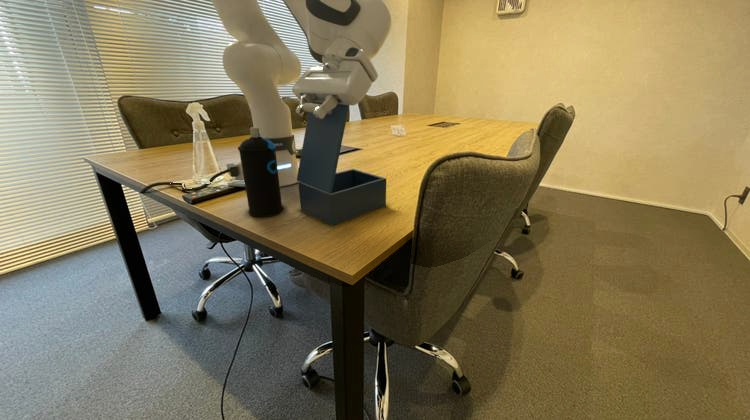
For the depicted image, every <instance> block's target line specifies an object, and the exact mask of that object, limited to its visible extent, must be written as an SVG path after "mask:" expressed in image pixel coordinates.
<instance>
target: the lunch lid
mask: <svg viewBox="0 0 750 420" xmlns="http://www.w3.org/2000/svg"><path fill="white" fill-rule="evenodd" d="M321 104H322V103H318V102H312V103H304V104H303V110H304V111H305V112H308V113H307V120H306V124H305V125H306V127H305V131H304V138H303V142H302V148H301V153H300V159H299V165H298V168H299V170H298V175H297V181H299V182H302V183H305V184H307V185H310V186H312V187H315V188H317V189H320V190H322V191H325V192H327V193H332V189H333V184H334V179H335V174H336V173H337V170H338V169H337V168H338V165H339V158H340V155H341V150H342V149H341V148H342V144H343V138H344V134H345V129H346V124H347V119H348V114H349V109H350V105H342V104H337V105H336V107H335V108H334V109H332V110H331V111H329V112H328V113H327V114H326V115H325V116H324V118H323V119H319V118H316V116H315V115H314V114H313V112H314V110H315V109H316V107H317V106H320V105H321Z"/></svg>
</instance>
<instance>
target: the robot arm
mask: <svg viewBox="0 0 750 420" xmlns="http://www.w3.org/2000/svg"><path fill="white" fill-rule="evenodd" d="M210 2H211V4H212V5H213V7H214V9H215V12H216V13H217V16H218V17H219V19H220V21H221V23H222V25H223V27H224V29H225V30H226V32H227V33H228V34H229V35H230V36H231V37H233V38H234V39H235V40H237V41H235V42H231V43H229V44H227V46H225V48H224V50H223V53H222V59H221V60H222V66H223V69H224V72H225V74H226V75H227V77H228V78H229V79H230V80H231V81H232V82H233V83H234V84H235V85H236V86H237V87H238V88H239V89H240V91H241V93H242V94H243V96H244V98H245V100H246V102H247V106H248V108H249V110H250V115H251V120H252V127H259V133H260V137H262V138H265V139H268V140H270V141H271V142H272V143H273V144H274V145H276V148H275V151H276V160H277V168H278V176H279V184H280V187H286V186H290V185H294V184H298V182H300V181H297V175H298V170H299V165H298V161H297V156H296V153H297V152H296V151H297V146H296V139H295V135H294V133H293V123H292V115H291V108H290V107H289V105H288V104H286V102H285V101H284V100H283V99H282V96H281V94H280V92H279V89H278V87H281V88H282V87H286V86H290V85H292V84H293V83H294V84H293V86H292V88H291V92H292V93H293V95H294V96H295V97H296V98H297V99H298V100H299V104H298V106H297V107H296V108H295V112H296V114H297V115H298V116H300V117H306V116H307V115H308V113H309V112H305V111H304V110H303V104H304V103H312V102H318V103H322V104H321V105H320V106H317V107H316V109H315V110H314V112H313V114H314V115H315V116H316V118H319V119H323V118H324V116H325V115H326V114H327V113H328V112H329V111H331V110H332V109H334V108H335V107H336V105H337V104H342V105H349V106H356V105H357V104H360V102H361V101H362V100H364V97H366V95H367V93H368V92H369V91H370V88H371V87H372V84H373V83H374V82H375V81H376V80H377V79H378V77H379V74H378V71H377V70H376V68H375V66H374V64H373V62H372V61H371V60H372V59H373V58H374V57H376V56H377V55H378V53H379V52H380V51H381V49H382V47H383V46H384V44H385V42H386V40H387V39H388V37H389V34H390V32H391V30H392V29H391V28H392V17H391V12H390V11H389V8H388V6H387V5H386V4H385V2H384V1H383V0H282V2H283V3H284V5H285V6H286V8H287V9H288V11H289V12H290V14H291V15H292V17H293V19H294V20H295V22H296V23H297V25H298V26H299V28H300V29H301V31H302V32H303V35H304V36H305V39H306V42H307V48H308V52H309V54H310V55H311V57H312V58H313V59H314V60H315V61H316V62H318V63H320V64H322V65H317V66H315V65H314V66H310V67H309V68H307V69H306V70H305V71H304V72H303V74H302V64H301V60H300V58H299V57H298V55H297V54H296V53H295V52H294V51H292V50H291V48H290V47H288V46H287V44H285V42H284V41H283V39H282V38H281V37H280V36H279V34H278V32H277V31H276V30H275V29H274V27H273V26H272V25H271V23H270V22H269V20H268V19H267V17H266V15H265V13H264V12H263V9H262V7H261V6H260V3H259V2H258V0H210ZM301 74H302V75H301ZM225 174H228V175H229V177H230V178H231V177H234V179H231V180H229V179H227V186H231V187H239V188H240V187H241V188H245V184H235V183H228V181H232V180H244V176H243V170H242V164H241V158H239V159H238V160H237V161H236V162H235V163H226V169H224V170H222V171H220V172H217V173H215V174H214V175H213V176H211V177H210V179H209V180H208V181H210V182H212V183H213V181H214V180H215V179H217V178H218V177H221V176H222V175H225ZM173 182H174V181H160V182H153V183H151V184H149V185H147V186H144V188H142V189H141V190H140V192H139V194H145V193H146V192H147V191H148V190H150V189H152V188H155V187H159V186H182V183H184V182H182V183H173ZM170 183H171V184H170ZM212 183H210V184H206V183H203V184H202V185H199V186H196V187H191V188H192V189H184V188H182V187H181V190H182V191H184V192H196V191H200V190H203V189H205V188H207V187H209V186H210V185H211V184H212ZM184 187H185V188H186V183H184Z"/></svg>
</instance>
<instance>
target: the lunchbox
mask: <svg viewBox="0 0 750 420" xmlns="http://www.w3.org/2000/svg"><path fill="white" fill-rule="evenodd" d="M297 185H298V195H299V204H300V206H299V207H300V211H302V212H303V213H305V214H307V215H310V216H312V217H314V218H315V219H317V220H319V221H321V222H323V223H325V224H327V225H329V226H331V227H333V226H336V225H338V224H341V223H344V222H346V221H349V220H351V219H354V218H356V217H359V216H363V215H364V214H367V213H370V212H372V211H375V210H378V209H380V208H383V207H385V206H387V178H385V177H383V176H379V175H376V174H372V173H369V172H365V171H362V170H358V169H354V168H351V169H347V170H343V171H338V172H336V174H335V179H334V184H333V189H332V193H327V192H325V191H322V190H320V189H317V188H315V187H312V186H310V185H307V184H305V183H302V182H300V181H299V182H297Z"/></svg>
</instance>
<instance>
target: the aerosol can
mask: <svg viewBox="0 0 750 420" xmlns="http://www.w3.org/2000/svg"><path fill="white" fill-rule="evenodd" d="M249 133H250V137H249V138H246V139H244V140H243V141H242V142H241V143H240V144H239V146H237V150H238V151H239V157H240V158H241V164H242V170H243V176H244V182H245V187H244V188H245V192H246V198H247V205H248V211H247V212H248V215H250V217H251V216H252V217H255V218H268V217H273V216H276V215H279V214H280V213H282V212H283V210H284V206H283V203H282V195H281V194H282V193H281V186H280V184H279V176H278V168H277V160H276V151H275V148H276V145H274V144H273V143H272V142H271V141H270V140H268V139H265V138H262V137H260V133H259V127H254V126H252V127H249ZM240 158H239V159H240Z"/></svg>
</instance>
